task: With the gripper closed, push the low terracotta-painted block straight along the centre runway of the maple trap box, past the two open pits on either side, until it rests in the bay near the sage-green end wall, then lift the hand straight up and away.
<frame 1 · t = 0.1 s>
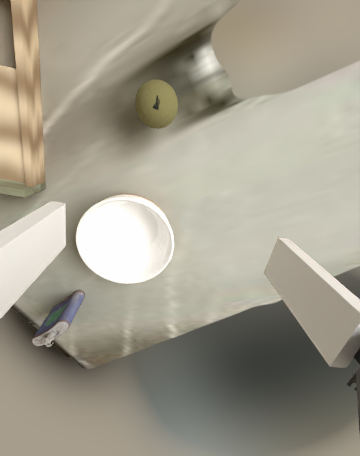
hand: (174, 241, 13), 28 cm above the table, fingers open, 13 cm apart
flask: (69, 301, 50), on the table
light bulb: (158, 110, 35), on the table
bowl: (132, 225, 43), on the table
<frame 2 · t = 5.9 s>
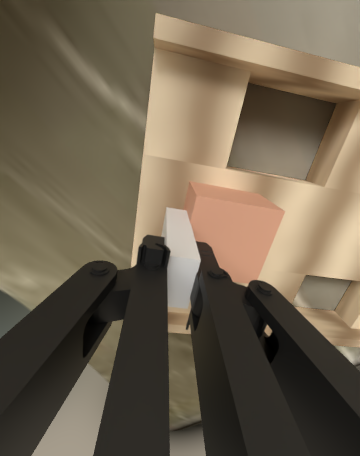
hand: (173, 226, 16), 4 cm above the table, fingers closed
block: (215, 221, 17), point 3 cm above the table, touching gripper
trap box: (298, 223, 21), on the table
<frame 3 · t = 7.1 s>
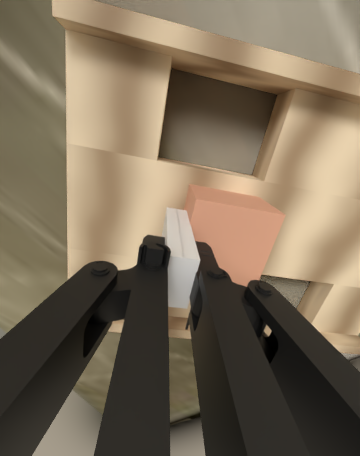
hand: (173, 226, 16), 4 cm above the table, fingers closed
block: (215, 224, 17), point 2 cm above the table, touching gripper, trap box
trap box: (248, 220, 20), on the table
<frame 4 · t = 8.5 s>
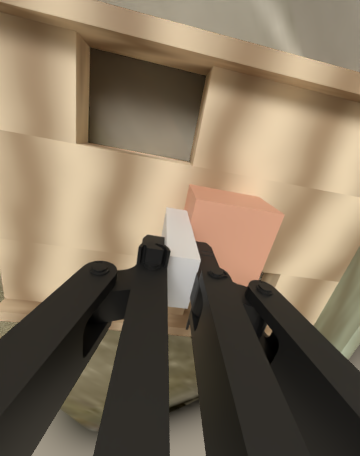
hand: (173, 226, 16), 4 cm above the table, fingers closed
block: (215, 223, 17), point 3 cm above the table, touching gripper
trap box: (191, 209, 19), on the table
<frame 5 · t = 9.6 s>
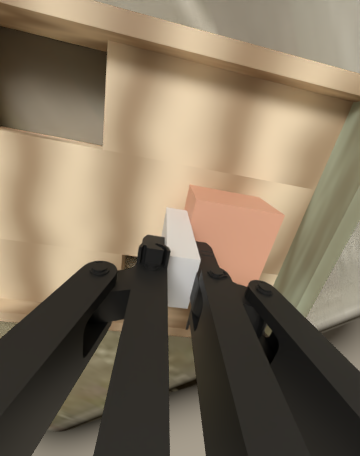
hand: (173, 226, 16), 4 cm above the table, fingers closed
block: (215, 224, 17), point 3 cm above the table
trap box: (119, 198, 19), on the table
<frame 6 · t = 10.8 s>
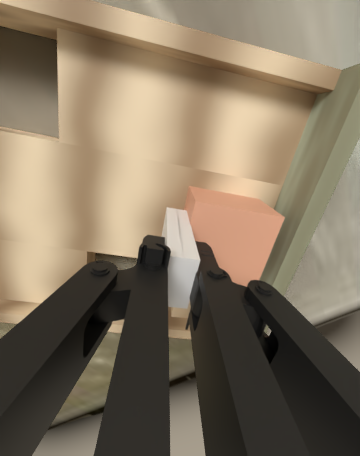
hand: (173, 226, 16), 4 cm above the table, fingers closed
block: (215, 225, 17), point 2 cm above the table, touching gripper, trap box
trap box: (86, 193, 18), on the table
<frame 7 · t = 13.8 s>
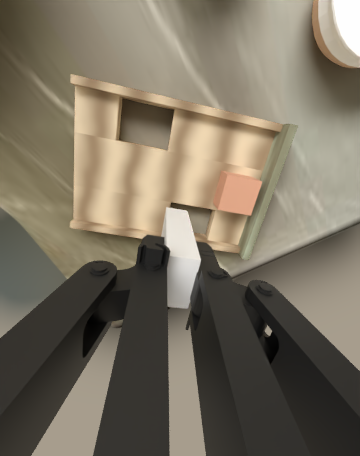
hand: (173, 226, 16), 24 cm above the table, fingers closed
block: (232, 189, 37), point 2 cm above the table, touching trap box
bowl: (349, 12, 31), on the table
trap box: (169, 175, 38), on the table
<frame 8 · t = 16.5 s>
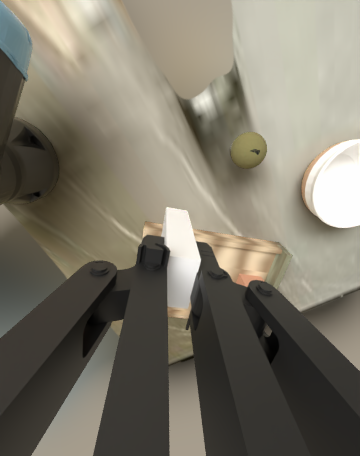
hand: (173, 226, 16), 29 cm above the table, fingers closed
block: (246, 284, 52), point 2 cm above the table, touching trap box
light bulb: (235, 148, 42), on the table
bowl: (327, 178, 46), on the table
trap box: (201, 272, 53), on the table
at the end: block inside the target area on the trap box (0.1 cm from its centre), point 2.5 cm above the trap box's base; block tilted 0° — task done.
